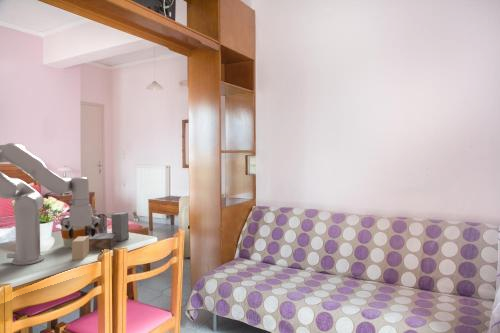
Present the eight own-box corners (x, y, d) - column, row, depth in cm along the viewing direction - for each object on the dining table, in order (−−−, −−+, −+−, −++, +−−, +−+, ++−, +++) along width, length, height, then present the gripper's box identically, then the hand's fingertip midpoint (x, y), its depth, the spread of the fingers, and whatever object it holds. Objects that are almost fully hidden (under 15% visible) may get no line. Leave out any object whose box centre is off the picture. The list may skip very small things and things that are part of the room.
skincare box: (121, 241, 193) (121, 214, 193) (110, 241, 195) (110, 214, 194) (129, 238, 202) (129, 212, 201) (119, 237, 203) (118, 211, 203)
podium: (81, 250, 174) (81, 239, 174) (88, 244, 187) (88, 233, 187) (112, 249, 177) (112, 238, 177) (116, 243, 190) (116, 232, 190)
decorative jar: (76, 241, 194) (76, 210, 193) (90, 236, 205) (90, 207, 205) (94, 242, 191) (94, 211, 190) (107, 237, 202) (107, 208, 202)
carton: (83, 259, 160) (83, 240, 160) (72, 260, 159) (71, 241, 159) (89, 253, 170) (88, 236, 170) (78, 254, 169) (78, 236, 169)
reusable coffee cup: (91, 243, 190) (90, 217, 189) (75, 249, 177) (75, 221, 177) (71, 242, 192) (71, 216, 192) (55, 247, 180) (54, 220, 180)
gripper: (58, 204, 158) (60, 240, 159) (97, 202, 162) (99, 237, 162) (64, 202, 166) (65, 236, 166) (101, 200, 169) (103, 233, 170)
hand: (82, 236), depth 164 cm, fingers open, 9 cm apart
